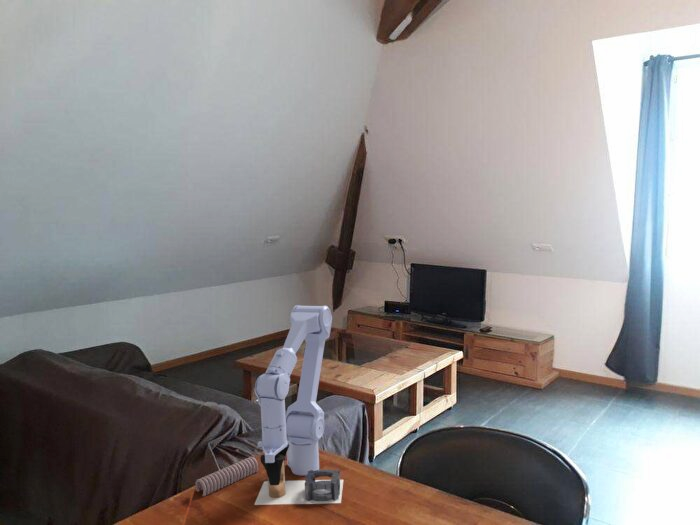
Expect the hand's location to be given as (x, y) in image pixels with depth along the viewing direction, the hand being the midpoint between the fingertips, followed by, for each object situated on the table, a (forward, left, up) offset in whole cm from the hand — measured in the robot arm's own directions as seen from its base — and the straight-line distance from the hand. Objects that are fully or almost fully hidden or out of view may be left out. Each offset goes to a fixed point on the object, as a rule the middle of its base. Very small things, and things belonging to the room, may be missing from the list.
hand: (276, 480), depth 134 cm
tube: (0, 0, -3) cm, 3 cm away
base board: (+2, +5, -4) cm, 7 cm away
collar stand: (+6, +9, -4) cm, 12 cm away
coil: (-14, -8, -5) cm, 17 cm away
